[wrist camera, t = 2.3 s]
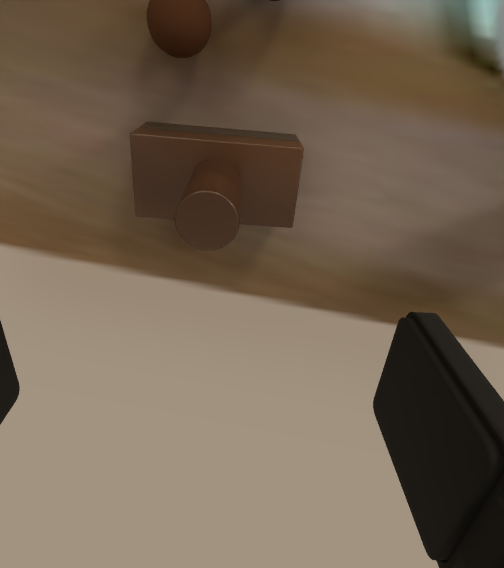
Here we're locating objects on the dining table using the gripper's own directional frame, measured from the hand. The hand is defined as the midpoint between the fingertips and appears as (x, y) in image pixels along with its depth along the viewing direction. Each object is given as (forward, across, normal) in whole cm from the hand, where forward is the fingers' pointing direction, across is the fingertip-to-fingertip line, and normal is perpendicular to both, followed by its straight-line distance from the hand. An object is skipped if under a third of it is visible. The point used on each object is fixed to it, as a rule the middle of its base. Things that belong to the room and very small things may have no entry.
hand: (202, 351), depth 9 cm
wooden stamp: (+15, 0, -1) cm, 15 cm away
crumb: (+14, +2, -7) cm, 16 cm away
